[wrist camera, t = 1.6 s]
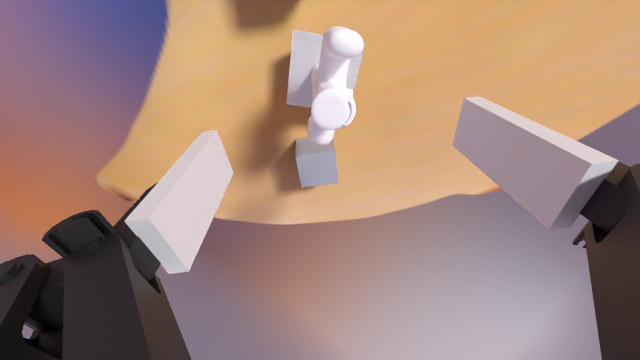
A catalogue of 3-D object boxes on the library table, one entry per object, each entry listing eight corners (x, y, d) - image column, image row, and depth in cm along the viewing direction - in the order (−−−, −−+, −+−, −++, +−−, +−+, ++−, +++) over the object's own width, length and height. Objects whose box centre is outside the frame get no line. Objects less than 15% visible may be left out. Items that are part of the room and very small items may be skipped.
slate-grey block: (296, 138, 33) (295, 155, 29) (331, 133, 33) (335, 150, 29) (301, 167, 36) (301, 187, 32) (334, 163, 36) (337, 183, 32)
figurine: (287, 103, 30) (275, 165, 18) (295, 14, 25) (286, 16, 12) (342, 112, 31) (366, 176, 19) (361, 28, 26) (412, 42, 13)
